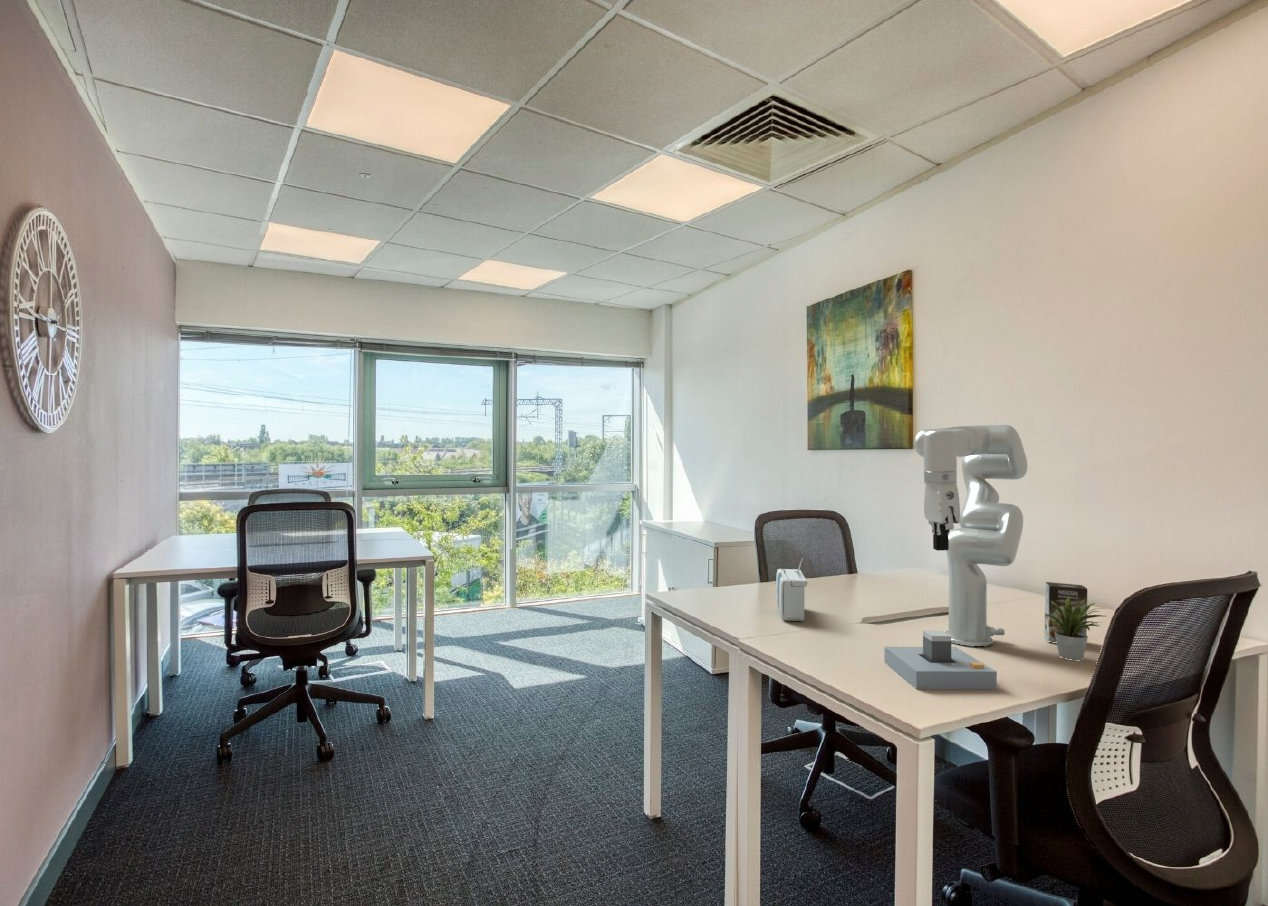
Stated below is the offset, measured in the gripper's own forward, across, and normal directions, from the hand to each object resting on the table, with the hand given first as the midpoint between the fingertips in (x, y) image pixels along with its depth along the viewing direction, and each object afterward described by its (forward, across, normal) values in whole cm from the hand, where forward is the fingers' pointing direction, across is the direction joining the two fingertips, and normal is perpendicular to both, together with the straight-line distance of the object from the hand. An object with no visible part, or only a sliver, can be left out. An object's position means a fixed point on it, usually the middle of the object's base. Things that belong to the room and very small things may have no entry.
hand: (940, 549), depth 163 cm
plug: (+28, -12, +7) cm, 31 cm away
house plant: (+29, -1, -33) cm, 44 cm away
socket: (+28, -12, +7) cm, 31 cm away
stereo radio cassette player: (+29, +45, +27) cm, 60 cm away
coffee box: (+30, +14, -42) cm, 54 cm away
